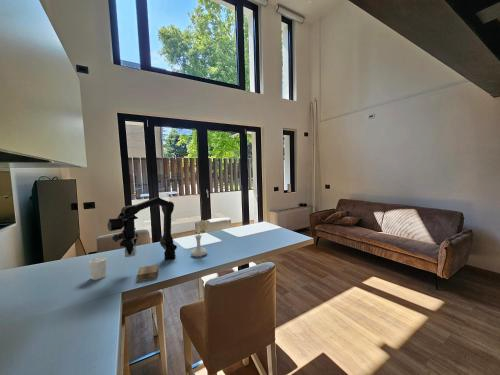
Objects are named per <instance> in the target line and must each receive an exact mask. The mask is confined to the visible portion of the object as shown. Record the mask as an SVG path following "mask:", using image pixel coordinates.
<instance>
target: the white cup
mask: <svg viewBox="0 0 500 375" xmlns="http://www.w3.org/2000/svg"><path fill="white" fill-rule="evenodd" d="M88 265H89V270H90V277H91V279H92V280H95V281H97V280H101V279H104V278H106V276H107V257H103V256H102V257H97V258H92V259H91V260H89V261H88Z"/></svg>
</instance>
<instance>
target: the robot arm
mask: <svg viewBox="0 0 500 375" xmlns="http://www.w3.org/2000/svg"><path fill="white" fill-rule="evenodd" d="M154 205H158V206H159V207H160V208H161V212H162V213H163V233H162V234H163V235H162V237H160V238H159V240H160V241H159V245H160V246H161V247H162V249H164V260H165V261H168V260H175V259H176V257H177V256H176V250H177V248H178V246H177V245H176V244H174V239H173V237H172V214H173V211H174V209H175V203H174V202H173V201H169V200H165V199H163V198H162V197H157V196H155V197H153V198H151V199H148V200H145V201H142V202H140V203H139V202H138V203H137V204H131V205H130V204H129V205H125V206H123V207H121V210H120V213H119V214H118V216H117V217H115V218H108V221H107V229H108V231H109V232H113V231H118V230H122V229H123V230H122V232H119V233H116V234H113V236H112V241H114V243H116V242H118V241H120V242H119V247H125V248H126V249H127V252H128V254H129V255H131V253H132V250H133V247H134V245H136V244H137V241H138V238H139V236H140V235H139V233H138V232H136V228H137V227H135V226H136V225H135V223H136V222H135V220H137V219H139V217H138V216H137V214H138V213H139V212H140V211H142V210H145V209H147V208H150V207H152V206H154Z"/></svg>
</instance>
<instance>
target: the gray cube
mask: <svg viewBox="0 0 500 375" xmlns="http://www.w3.org/2000/svg"><path fill="white" fill-rule="evenodd" d="M136 255H137V245H136V244H135V245H134V247H133V250H132V253H131V255H129V254H128V252H127V249H126V247H125V248H124V258H129V257H135V256H136Z"/></svg>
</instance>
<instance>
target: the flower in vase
mask: <svg viewBox="0 0 500 375" xmlns="http://www.w3.org/2000/svg"><path fill="white" fill-rule="evenodd" d="M198 226H199V228H200V229H199V230H200V231H199V232H195V234H197V235H195V236H194V238H195V239H196V246H195V247H194V249H192V250H191V252H190V256H192V257H199V258H200V257H203V256H205V255H206V254H208V251H207V249H206V248H205V247H202V246H201V239H202V235H201V234H204V233H206V230H207V229H209V228H208V226H209V225H208V223H207V221H205V220H204V219H200V220H199V221H198Z"/></svg>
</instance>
